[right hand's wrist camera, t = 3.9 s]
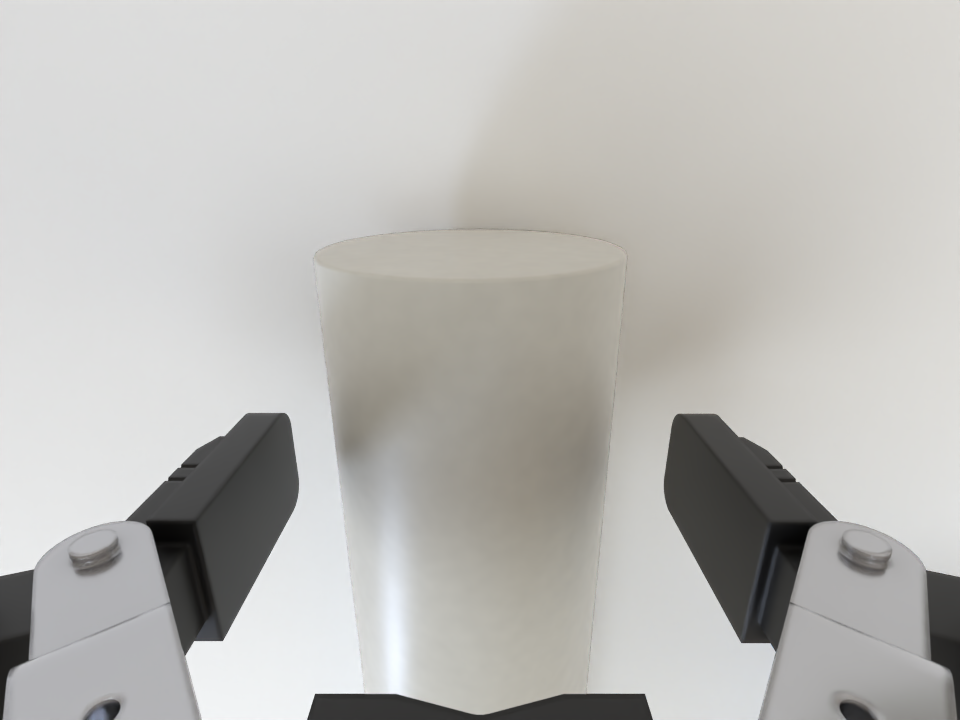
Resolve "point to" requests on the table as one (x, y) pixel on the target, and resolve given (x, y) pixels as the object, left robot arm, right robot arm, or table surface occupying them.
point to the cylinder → (472, 454)
